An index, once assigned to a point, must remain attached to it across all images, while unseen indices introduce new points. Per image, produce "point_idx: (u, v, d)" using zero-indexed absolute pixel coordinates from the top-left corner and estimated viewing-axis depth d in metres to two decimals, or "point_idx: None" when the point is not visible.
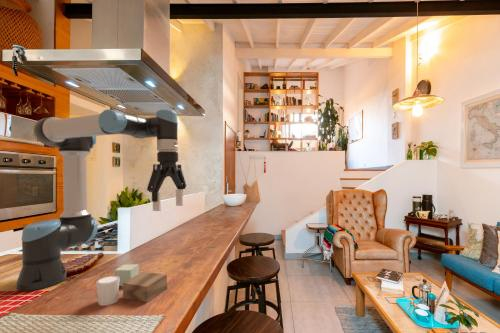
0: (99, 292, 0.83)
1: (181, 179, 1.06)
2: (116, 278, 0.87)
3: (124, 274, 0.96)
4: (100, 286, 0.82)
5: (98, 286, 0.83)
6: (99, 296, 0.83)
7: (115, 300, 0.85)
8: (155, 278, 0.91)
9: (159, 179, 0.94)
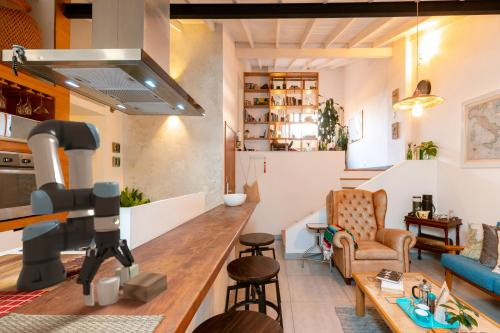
0: (99, 292, 0.83)
1: (127, 255, 0.92)
2: (116, 278, 0.87)
3: None
4: (100, 286, 0.82)
5: (98, 286, 0.83)
6: (99, 296, 0.83)
7: (115, 300, 0.85)
8: (155, 278, 0.91)
9: (94, 266, 0.80)
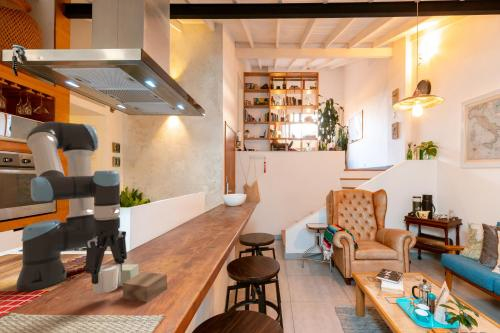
0: None
1: (122, 249, 0.91)
2: (115, 266, 0.87)
3: (124, 274, 0.96)
4: None
5: None
6: None
7: (114, 287, 0.85)
8: (155, 278, 0.91)
9: (97, 256, 0.82)
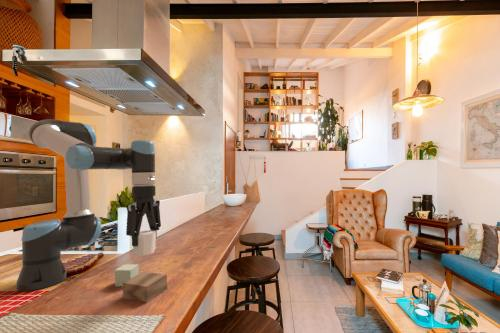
0: None
1: (156, 217, 0.96)
2: (152, 231, 0.92)
3: (124, 274, 0.96)
4: None
5: None
6: None
7: (152, 251, 0.90)
8: (155, 278, 0.91)
9: (137, 220, 0.87)
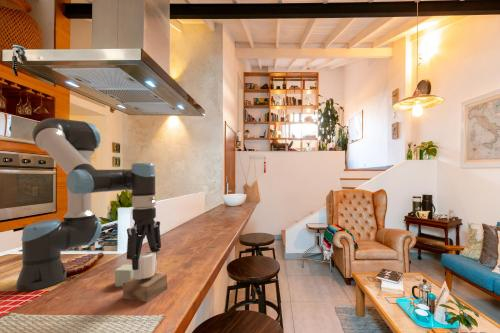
0: None
1: (157, 238, 0.96)
2: (152, 253, 0.92)
3: (124, 274, 0.96)
4: None
5: None
6: None
7: (152, 274, 0.90)
8: (155, 278, 0.91)
9: (137, 243, 0.87)
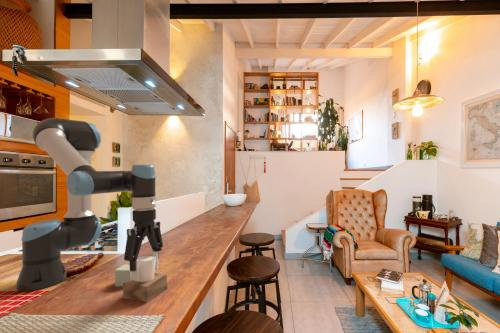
0: None
1: (158, 238, 0.96)
2: (152, 257, 0.91)
3: (124, 274, 0.96)
4: (139, 263, 0.87)
5: None
6: None
7: (152, 277, 0.90)
8: (155, 278, 0.91)
9: (136, 244, 0.87)
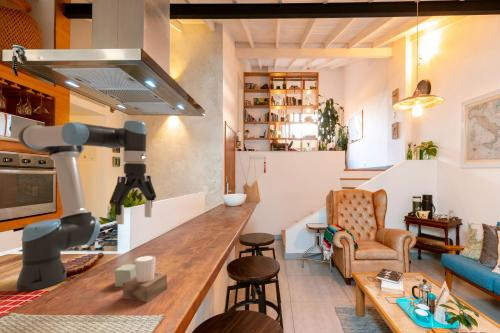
0: (138, 270, 0.88)
1: (150, 190, 1.04)
2: (152, 257, 0.91)
3: (124, 274, 0.96)
4: (139, 264, 0.87)
5: (137, 264, 0.88)
6: (137, 273, 0.88)
7: (152, 277, 0.90)
8: (155, 278, 0.91)
9: (124, 192, 0.92)
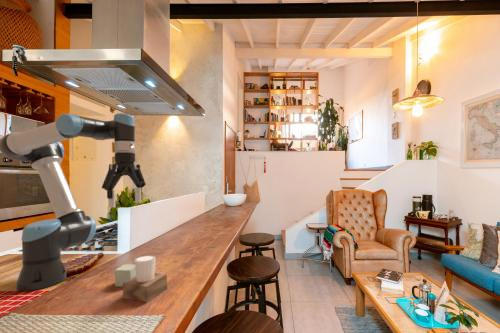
0: (138, 270, 0.88)
1: (140, 178, 1.13)
2: (152, 257, 0.92)
3: (124, 274, 0.96)
4: (139, 264, 0.87)
5: (137, 264, 0.88)
6: (137, 273, 0.88)
7: (152, 277, 0.90)
8: (155, 278, 0.91)
9: (115, 178, 1.01)
